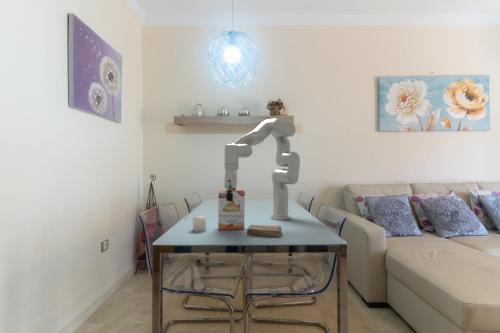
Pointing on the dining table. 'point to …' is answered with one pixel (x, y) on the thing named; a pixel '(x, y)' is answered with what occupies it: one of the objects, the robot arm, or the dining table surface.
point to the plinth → (264, 230)
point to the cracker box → (231, 210)
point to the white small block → (199, 223)
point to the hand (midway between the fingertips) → (231, 199)
